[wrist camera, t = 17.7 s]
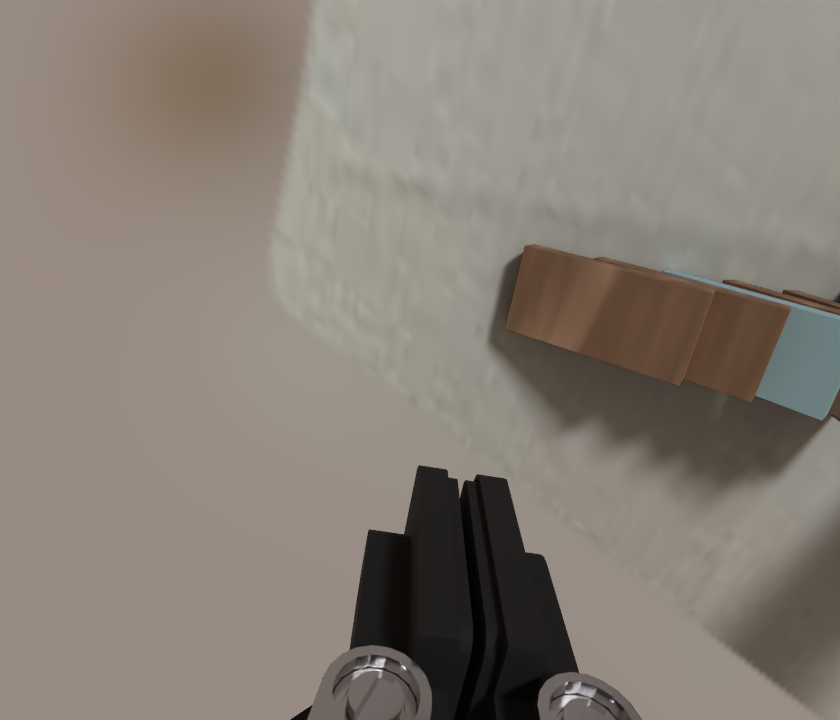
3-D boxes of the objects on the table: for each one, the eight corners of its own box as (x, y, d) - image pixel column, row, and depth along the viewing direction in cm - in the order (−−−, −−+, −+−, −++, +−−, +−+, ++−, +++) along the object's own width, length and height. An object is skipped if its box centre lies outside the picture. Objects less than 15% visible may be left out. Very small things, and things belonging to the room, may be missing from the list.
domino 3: (672, 269, 34) (870, 323, 28) (646, 347, 36) (827, 414, 30) (662, 270, 33) (865, 327, 27) (635, 350, 35) (822, 420, 29)
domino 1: (534, 244, 34) (715, 289, 30) (515, 324, 36) (683, 378, 31) (525, 245, 33) (712, 293, 28) (505, 328, 34) (679, 386, 30)
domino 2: (603, 256, 34) (792, 306, 29) (580, 335, 36) (755, 395, 31) (594, 258, 33) (790, 310, 28) (571, 340, 35) (751, 402, 30)
